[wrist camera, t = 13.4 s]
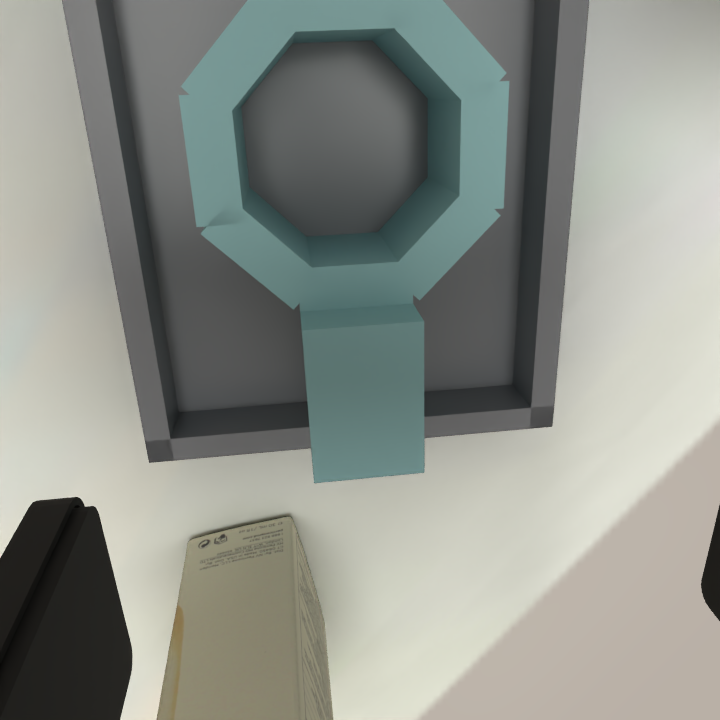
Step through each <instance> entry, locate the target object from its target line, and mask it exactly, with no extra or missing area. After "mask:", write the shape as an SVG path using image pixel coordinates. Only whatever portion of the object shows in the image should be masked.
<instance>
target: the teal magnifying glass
mask: <svg viewBox="0 0 720 720" xmlns="http://www.w3.org/2000/svg"><path fill="white" fill-rule="evenodd" d="M366 40H372V41H373V42H374V43H375V44H376V45H377V46H378V47H379V48H380V49H381V50H382V51H383V52H384V53H385V54H386V55H387V56H388V57H389V58H390V59H391V60H392V62H393V63H394V64H395V65H396V66H397V67H398V68H399V69H400V70H401V71H402V72H403V73H404V74H405V75H406V76H407V77H408V78H409V79H410V80H411V81H412V83H413V84H414V85H415V86H416V87H417V88H418V89H419V90H420V91H421V92H422V93H423V94H424V95H425V96H426V97H427V98H428V177H427V178H426V180H425V181H424V182H423V183H422V184H421V185H420V186H419V187H418V188H417V190H416V191H415V192H414V193H413V194H412V195H411V196H410V197H409V198H408V199H407V201H406V202H405V203H404V204H403V205H402V206H401V207H400V208H399V209H398V210H397V212H396V213H395V214H394V215H393V216H392V217H391V218H390V219H389V220H388V221H387V223H386V224H385V225H384V226H383V227H382V228H381V229H380V230H379V231H378V232H372V233H356V234H340V235H324V236H308V237H306V236H305V235H304V234H303V233H302V232H300V231H299V230H298V229H297V228H296V227H295V226H294V225H292V224H291V223H290V222H289V221H288V220H287V219H285V218H284V217H283V216H282V215H281V214H280V213H279V212H277V211H276V210H275V209H274V208H273V207H272V206H271V205H269V204H268V203H267V202H266V201H265V200H264V199H262V198H261V197H260V196H259V195H258V194H257V193H256V192H254V191H253V190H252V189H251V188H250V187H249V178H248V168H247V158H246V148H245V139H244V129H243V119H242V110H241V106H242V105H243V104H244V103H245V102H246V100H247V99H248V98H249V97H250V95H251V94H252V93H253V92H254V90H255V89H256V88H257V87H258V85H259V84H260V83H261V82H262V80H263V79H264V78H265V77H266V75H267V74H268V73H269V72H270V70H271V69H272V68H273V67H274V65H275V64H276V63H277V62H278V61H279V59H280V58H281V57H282V56H283V54H284V53H285V52H286V51H287V49H288V48H289V47H290V46H291V44H292V43H312V42H339V41H366ZM505 74H506V72H505V70H504V69H503V68H502V67H501V66H500V65H499V64H498V62H497V61H496V60H495V59H494V58H493V57H492V56H491V55H490V53H489V52H488V51H487V50H486V49H485V48H484V47H483V45H482V44H481V43H480V42H479V41H478V40H477V39H476V38H475V36H474V35H473V34H472V33H471V32H470V31H469V30H468V28H467V27H466V26H465V25H464V24H463V23H462V22H461V20H460V19H459V18H458V17H457V16H456V15H455V14H454V13H453V11H452V10H451V9H450V8H449V7H448V6H447V5H446V3H445V2H444V1H443V0H247V2H246V3H245V4H244V5H243V7H242V8H241V9H240V11H239V12H238V13H237V15H236V16H235V17H234V18H233V20H232V21H231V22H230V24H229V25H228V26H227V27H226V29H225V30H224V31H223V33H222V34H221V35H220V36H219V38H218V39H217V40H216V42H215V43H214V44H213V46H212V47H211V48H210V49H209V51H208V52H207V53H206V55H205V56H204V57H203V58H202V60H201V61H200V62H199V64H198V65H197V66H196V67H195V69H194V70H193V71H192V73H191V74H190V75H189V77H188V78H187V79H186V80H185V82H184V83H183V84H182V86H181V87H182V88H183V89H184V90H185V91H186V92H187V93H188V94H189V95H179V102H180V110H181V117H182V124H183V132H184V139H185V146H186V154H187V161H188V168H189V176H190V183H191V190H192V198H193V205H194V212H195V220H196V227H204V229H203V230H202V232H201V235H202V236H204V237H205V238H206V239H207V240H208V241H210V242H211V243H212V244H213V245H215V246H216V247H217V248H218V249H220V250H221V251H222V252H223V253H224V254H226V255H227V256H228V257H229V258H231V259H232V260H233V261H234V262H236V263H237V264H238V265H239V266H240V267H242V268H243V269H244V270H245V271H247V272H248V273H249V274H250V275H252V276H253V277H254V278H255V279H256V280H258V281H259V282H260V283H261V284H263V285H264V286H265V287H266V288H268V289H269V290H270V291H271V292H272V293H274V294H275V295H276V296H277V297H279V298H280V299H281V300H282V301H283V302H285V303H286V304H287V305H288V306H290V307H291V308H292V309H293V310H294V309H295V307H296V306H297V305H298V304H299V305H300V318H301V330H302V343H303V356H304V368H305V381H306V394H307V405H308V417H309V429H310V440H311V452H312V463H313V475H314V483H321V482H332V481H342V480H352V479H363V478H373V477H383V476H394V475H404V474H414V473H424V320H423V319H422V317H421V315H420V314H419V312H418V311H417V309H416V307H415V306H414V304H413V295H414V296H415V297H416V298H417V299H419V300H421V298H422V297H423V296H424V295H425V294H426V293H427V292H428V291H429V290H430V289H431V288H432V287H433V286H434V285H435V284H436V283H437V282H438V281H439V280H440V279H441V278H442V276H443V275H444V274H445V273H446V272H447V271H448V270H449V269H450V268H451V267H452V266H453V265H454V264H455V263H456V262H457V261H458V260H459V259H460V258H461V257H462V255H463V254H464V253H465V252H466V251H467V250H468V249H469V248H470V247H471V246H472V245H473V244H474V243H475V242H476V241H477V240H478V239H479V238H480V237H481V236H482V234H483V233H484V232H485V231H486V230H487V229H488V228H489V227H490V226H491V225H492V224H493V223H494V222H495V221H496V220H497V219H498V218H499V217H500V216H501V215H500V214H499V213H498V212H497V211H496V210H495V209H502V208H504V190H505V168H506V145H507V123H508V101H509V81H500V80H501V79H502V78H503V77H504V75H505Z"/></svg>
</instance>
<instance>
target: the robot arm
mask: <svg viewBox="0 0 720 720" xmlns="http://www.w3.org/2000/svg"><path fill="white" fill-rule="evenodd" d="M701 588H702V593H703V597H704V599H705V602H706V604H707V605H708V606H709V608H710V609H711V611H712V612H713V613H714V614H715V616H716V617H717V618H718V619H719V621H720V506H719V510H718V514H717V518H716V522H715V527H714V531H713V535H712V539H711V543H710V547H709V552H708V556H707V560H706V564H705V568H704V572H703V577H702V583H701ZM131 671H132V647H131V642H130V638H129V634H128V630H127V626H126V622H125V618H124V614H123V610H122V606H121V602H120V598H119V594H118V590H117V586H116V582H115V578H114V574H113V570H112V565H111V561H110V557H109V553H108V549H107V545H106V541H105V537H104V533H103V529H102V525H101V521H100V517H99V514H98V511H97V509H96V507H94V506H90V507H85V506H84V503H83V502H82V500H81V499H80V498H78V497H72V498H61V499H51V500H40V501H35V502H33V503H32V504H31V506H30V507H29V508H28V510H27V512H26V514H25V516H24V517H23V519H22V521H21V523H20V524H19V526H18V528H17V530H16V531H15V533H14V535H13V537H12V539H11V540H10V542H9V544H8V546H7V547H6V549H5V551H4V553H3V555H2V556H1V558H0V720H120V717H121V713H122V709H123V705H124V701H125V697H126V692H127V688H128V684H129V680H130V676H131Z"/></svg>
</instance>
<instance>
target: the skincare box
mask: <svg viewBox="0 0 720 720" xmlns="http://www.w3.org/2000/svg"><path fill="white" fill-rule="evenodd" d="M157 720H333V712H332V701H331V690H330V679H329V668H328V657H327V646H326V635H325V624H324V620H323V616H322V611H321V608H320V604H319V600H318V597H317V593H316V589H315V586H314V583H313V579H312V576H311V573H310V570H309V567H308V563H307V560H306V557H305V554H304V551H303V548H302V545H301V542H300V539H299V536H298V533H297V531H296V528H295V525H294V522H293V519H292V518H291V517H283V518H279V519H274V520H270V521H265V522H260V523H255V524H251V525H246V526H242V527H238V528H233V529H229V530H225V531H221V532H217V533H214V534H209V535H206V536H202V537H199V538H195V539H192V540H190V541H189V542H188V545H187V551H186V557H185V562H184V568H183V574H182V580H181V585H180V591H179V597H178V603H177V608H176V614H175V619H174V625H173V630H172V636H171V641H170V647H169V652H168V659H167V664H166V669H165V675H164V680H163V686H162V692H161V697H160V703H159V709H158V714H157Z"/></svg>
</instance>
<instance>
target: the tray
mask: <svg viewBox="0 0 720 720" xmlns="http://www.w3.org/2000/svg"><path fill="white" fill-rule="evenodd" d="M443 1H444V2H445V3H446V5H447V6H448V7H449V8H450V9H451V10H452V11H453V13H454V14H455V15H456V16H457V17H458V18H459V19H460V20H461V22H462V23H463V24H464V25H465V26H466V27H467V28H468V30H469V31H470V32H471V33H472V34H473V35H474V36H475V38H476V39H477V40H478V41H479V42H480V43H481V44H482V45H483V47H484V48H485V49H486V50H487V51H488V52H489V53H490V55H491V56H492V57H493V58H494V59H495V60H496V61H497V62H498V64H499V65H500V66H501V67H502V68H503V69H504V70H505V72H506V74H505V75H504V77H503V78H502V79H501V80H500V81H509V101H508V123H507V145H506V168H505V190H504V208H502V209H495V210H496V211H497V212H498V213H499V214H500V215H501V216H500V217H499V218H498V219H497V220H496V221H495V222H494V223H493V224H492V225H491V226H490V227H489V228H488V229H487V230H486V231H485V232H484V233H483V234H482V236H481V237H480V238H479V239H478V240H477V241H476V242H475V243H474V244H473V245H472V246H471V247H470V248H469V249H468V250H467V251H466V252H465V253H464V254H463V255H462V257H461V258H460V259H459V260H458V261H457V262H456V263H455V264H454V265H453V266H452V267H451V268H450V269H449V270H448V271H447V272H446V273H445V274H444V275H443V276H442V278H441V279H440V280H439V281H438V282H437V283H436V284H435V285H434V286H433V287H432V288H431V289H430V290H429V291H428V292H427V293H426V294H425V295H424V296H423V297H422V298H421V300H419V299H417V298H416V297H415V296H414V295H413V304H414V306H415V307H416V309H417V311H418V312H419V314H420V315H421V317H422V319H423V320H424V438H430V437H441V436H452V435H464V434H475V433H486V432H497V431H508V430H519V429H530V428H542V427H552V424H553V412H554V401H555V389H556V378H557V366H558V355H559V343H560V331H561V320H562V308H563V297H564V285H565V274H566V262H567V251H568V239H569V227H570V216H571V204H572V193H573V181H574V170H575V158H576V146H577V135H578V123H579V112H580V100H581V89H582V77H583V66H584V54H585V42H586V31H587V19H588V8H589V0H443ZM246 2H247V0H62V3H63V8H64V13H65V18H66V24H67V29H68V34H69V40H70V45H71V50H72V56H73V61H74V66H75V72H76V77H77V82H78V88H79V93H80V98H81V103H82V109H83V114H84V119H85V125H86V130H87V135H88V141H89V146H90V151H91V157H92V162H93V167H94V173H95V178H96V183H97V188H98V194H99V199H100V204H101V210H102V215H103V220H104V226H105V231H106V236H107V242H108V247H109V252H110V258H111V263H112V268H113V273H114V279H115V284H116V289H117V295H118V300H119V305H120V311H121V316H122V321H123V327H124V332H125V337H126V343H127V348H128V353H129V358H130V364H131V369H132V374H133V380H134V385H135V390H136V396H137V401H138V406H139V412H140V417H141V422H142V427H143V433H144V438H145V443H146V449H147V454H148V459H149V463H151V462H163V461H174V460H185V459H196V458H207V457H218V456H229V455H241V454H252V453H263V452H274V451H285V450H296V449H308V448H311V440H310V429H309V417H308V405H307V394H306V381H305V368H304V356H303V343H302V330H301V318H300V305H299V304H298V305H297V306H296V307H295V309H294V310H293V309H292V308H291V307H290V306H288V305H287V304H286V303H285V302H283V301H282V300H281V299H280V298H279V297H277V296H276V295H275V294H274V293H272V292H271V291H270V290H269V289H268V288H266V287H265V286H264V285H263V284H261V283H260V282H259V281H258V280H256V279H255V278H254V277H253V276H252V275H250V274H249V273H248V272H247V271H245V270H244V269H243V268H242V267H240V266H239V265H238V264H237V263H236V262H234V261H233V260H232V259H231V258H229V257H228V256H227V255H226V254H224V253H223V252H222V251H221V250H220V249H218V248H217V247H216V246H215V245H213V244H212V243H211V242H210V241H208V240H207V239H206V238H205V237H204V236H202V235H201V232H202V230H203V229H204V227H196V220H195V212H194V205H193V198H192V190H191V183H190V176H189V168H188V161H187V154H186V146H185V139H184V132H183V124H182V117H181V110H180V102H179V95H189V94H188V93H187V92H186V91H185V90H184V89H183V88H182V87H181V86H182V84H183V83H184V82H185V80H186V79H187V78H188V77H189V75H190V74H191V73H192V71H193V70H194V69H195V67H196V66H197V65H198V64H199V62H200V61H201V60H202V58H203V57H204V56H205V55H206V53H207V52H208V51H209V49H210V48H211V47H212V46H213V44H214V43H215V42H216V40H217V39H218V38H219V36H220V35H221V34H222V33H223V31H224V30H225V29H226V27H227V26H228V25H229V24H230V22H231V21H232V20H233V18H234V17H235V16H236V15H237V13H238V12H239V11H240V9H241V8H242V7H243V5H244V4H245V3H246ZM241 110H242V119H243V129H244V139H245V148H246V158H247V168H248V178H249V187H250V188H251V189H252V190H253V191H254V192H256V193H257V194H258V195H259V196H260V197H261V198H262V199H264V200H265V201H266V202H267V203H268V204H269V205H271V206H272V207H273V208H274V209H275V210H276V211H277V212H279V213H280V214H281V215H282V216H283V217H284V218H285V219H287V220H288V221H289V222H290V223H291V224H292V225H294V226H295V227H296V228H297V229H298V230H299V231H300V232H302V233H303V234H304V235H305V236H306V237H308V236H324V235H340V234H356V233H372V232H378V231H379V230H380V229H381V228H382V227H383V226H384V225H385V224H386V223H387V221H388V220H389V219H390V218H391V217H392V216H393V215H394V214H395V213H396V212H397V210H398V209H399V208H400V207H401V206H402V205H403V204H404V203H405V202H406V201H407V199H408V198H409V197H410V196H411V195H412V194H413V193H414V192H415V191H416V190H417V188H418V187H419V186H420V185H421V184H422V183H423V182H424V181H425V180H426V178H427V177H428V98H427V97H426V96H425V95H424V94H423V93H422V92H421V91H420V90H419V89H418V88H417V87H416V86H415V85H414V84H413V83H412V81H411V80H410V79H409V78H408V77H407V76H406V75H405V74H404V73H403V72H402V71H401V70H400V69H399V68H398V67H397V66H396V65H395V64H394V63H393V62H392V60H391V59H390V58H389V57H388V56H387V55H386V54H385V53H384V52H383V51H382V50H381V49H380V48H379V47H378V46H377V45H376V44H375V43H374V42H373V41H372V40H366V41H339V42H312V43H292V44H291V46H290V47H289V48H288V49H287V51H286V52H285V53H284V54H283V56H282V57H281V58H280V59H279V61H278V62H277V63H276V64H275V65H274V67H273V68H272V69H271V70H270V72H269V73H268V74H267V75H266V77H265V78H264V79H263V80H262V82H261V83H260V84H259V85H258V87H257V88H256V89H255V90H254V92H253V93H252V94H251V95H250V97H249V98H248V99H247V100H246V102H245V103H244V104H243V105H242V106H241Z"/></svg>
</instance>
